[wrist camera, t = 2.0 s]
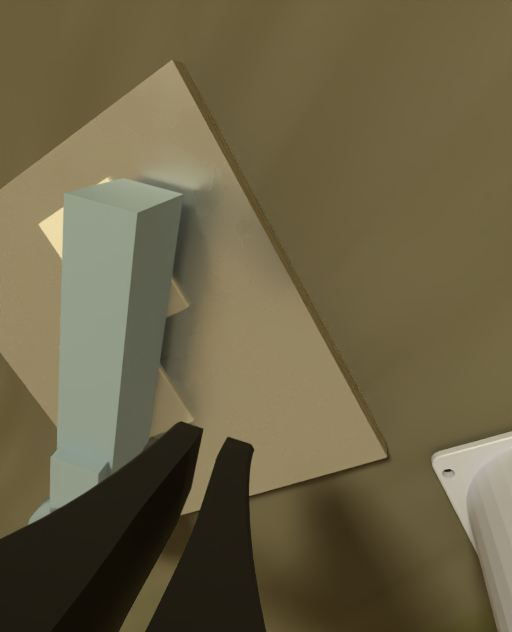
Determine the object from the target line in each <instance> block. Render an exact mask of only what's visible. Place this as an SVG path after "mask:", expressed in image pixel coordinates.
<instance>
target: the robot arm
mask: <svg viewBox="0 0 512 632" xmlns="http://www.w3.org/2000/svg"><path fill="white" fill-rule="evenodd" d="M202 434H203V428H200V427H197V426H194V425H191V424H188V423H185V422H182V421H180V422H178V423H176V424H175V425H174V426H172V427H171V428H170V429H169V430H168V431H167V432H166V433H165V434H163V435H162V436H161V437H160V438H159V439H158V440H156V441H155V442H154V443H153V444H151V445H150V446H149V447H148V448H147V449H145V450H144V451H143V452H142V453H140V454H139V455H138V456H136V457H135V458H134V459H132V460H131V461H130V462H128V463H127V464H126V465H124V466H123V467H122V468H120V469H119V470H118V471H116V472H115V473H113V474H112V475H110V476H109V477H107V478H106V479H104V480H103V481H101V482H100V483H98V484H97V485H96V486H94V487H93V488H91V489H90V490H88V491H87V492H85V493H83V494H82V495H80V496H79V497H77V498H75V499H74V500H72V501H70V502H69V503H67V504H65V505H64V506H62V507H60V508H59V509H57V510H55V511H53V512H51V513H50V514H48V515H46V516H44V517H43V518H41V519H39V520H37V521H35V522H33V523H31V524H29V525H27V526H25V527H23V528H21V529H19V530H17V531H15V532H13V533H11V534H9V535H7V536H5V537H3V538H1V539H0V632H119V630H120V628H121V626H122V624H123V622H124V620H125V618H126V616H127V614H128V612H129V610H130V609H131V607H132V605H133V603H134V601H135V600H136V598H137V596H138V594H139V592H140V590H141V589H142V587H143V585H144V583H145V581H146V580H147V578H148V576H149V574H150V572H151V570H152V569H153V567H154V565H155V563H156V561H157V560H158V558H159V556H160V554H161V552H162V550H163V549H164V547H165V545H166V543H167V541H168V539H169V538H170V536H171V534H172V532H173V530H174V528H175V526H176V524H177V522H178V519H179V517H180V515H181V512H182V510H183V508H184V505H185V503H186V500H187V498H188V495H189V493H190V491H191V488H192V483H193V478H194V473H195V468H196V464H197V459H198V454H199V449H200V444H201V439H202ZM253 453H254V448H253V446H252V444H249V443H246V442H243V441H240V440H237V439H234V438H231V437H227V438H226V440H225V442H224V444H223V445H222V447H221V449H220V451H219V453H218V455H217V458H216V461H215V464H214V467H213V470H212V474H211V477H210V480H209V483H208V486H207V489H206V492H205V496H204V499H203V502H202V505H201V508H200V511H199V514H198V518H197V521H196V524H195V526H194V529H193V532H192V534H191V537H190V539H189V541H188V544H187V546H186V548H185V550H184V552H183V554H182V557H181V559H180V561H179V563H178V565H177V567H176V569H175V572H174V574H173V576H172V578H171V580H170V582H169V584H168V586H167V588H166V590H165V593H164V595H163V597H162V599H161V601H160V603H159V605H158V607H157V609H156V611H155V613H154V615H153V617H152V619H151V621H150V623H149V625H148V627H147V629H146V631H145V632H266V629H265V624H264V619H263V614H262V609H261V604H260V599H259V593H258V587H257V581H256V575H255V568H254V560H253V551H252V542H251V530H250V510H249V481H250V468H251V461H252V456H253ZM431 461H432V466H433V469H434V471H435V473H436V474H437V476H438V478H439V480H440V482H441V484H442V486H443V488H444V490H445V492H446V494H447V496H448V498H449V500H450V502H451V504H452V506H453V508H454V510H455V512H456V513H457V515H458V517H459V519H460V521H461V523H462V525H463V527H464V529H465V531H466V533H467V535H468V537H469V539H470V541H471V543H472V545H473V547H474V549H475V550H476V552H477V554H478V556H479V560H480V564H481V568H482V572H483V576H484V580H485V584H486V588H487V592H488V595H489V599H490V603H491V607H492V611H493V615H494V619H495V623H496V627H497V630H498V632H512V431H511V432H508V433H504V434H500V435H497V436H493V437H490V438H486V439H482V440H479V441H475V442H471V443H468V444H464V445H460V446H457V447H453V448H449V449H446V450H442V451H438V452H436V453H435V454H434V455H433V456H432V458H431ZM446 469H451V470H452V471H451V472H444V470H446Z"/></svg>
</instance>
